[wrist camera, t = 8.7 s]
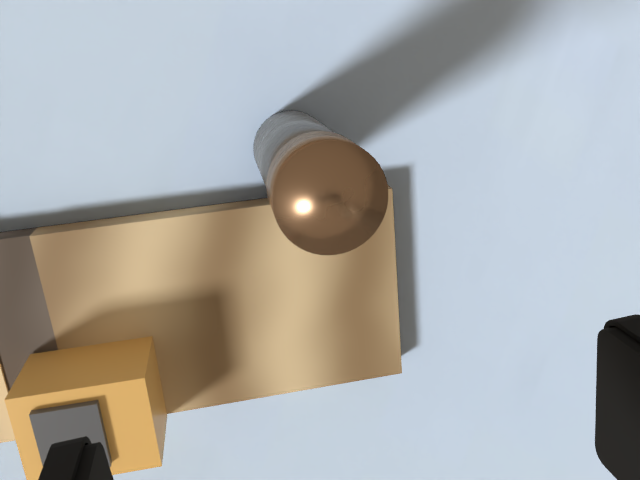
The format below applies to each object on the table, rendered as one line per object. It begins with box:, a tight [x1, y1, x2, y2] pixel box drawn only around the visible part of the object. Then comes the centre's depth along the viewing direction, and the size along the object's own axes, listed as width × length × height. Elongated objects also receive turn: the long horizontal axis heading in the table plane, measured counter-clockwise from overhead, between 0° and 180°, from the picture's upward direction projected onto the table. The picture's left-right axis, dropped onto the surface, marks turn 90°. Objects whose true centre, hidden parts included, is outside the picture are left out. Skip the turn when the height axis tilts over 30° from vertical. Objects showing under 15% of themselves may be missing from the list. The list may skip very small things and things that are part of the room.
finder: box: [4, 336, 167, 480], centre depth 25 cm, size 5×4×4 cm
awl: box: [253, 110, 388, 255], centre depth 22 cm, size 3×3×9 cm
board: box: [0, 186, 402, 443], centre depth 27 cm, size 22×9×1 cm, turn 95°
